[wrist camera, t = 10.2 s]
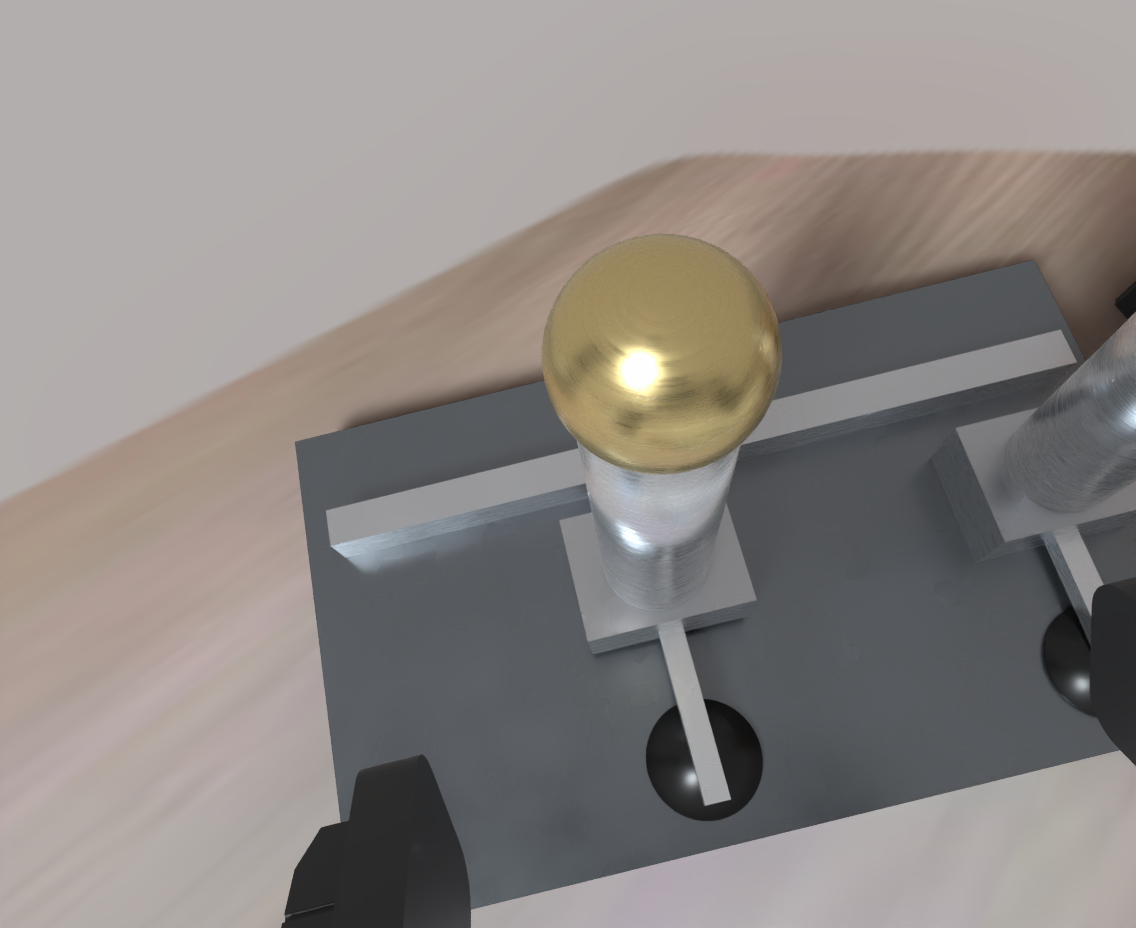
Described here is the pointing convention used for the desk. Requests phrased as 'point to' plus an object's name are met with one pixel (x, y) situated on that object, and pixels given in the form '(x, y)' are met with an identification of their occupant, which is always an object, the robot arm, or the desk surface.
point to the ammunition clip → (1127, 301)
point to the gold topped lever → (661, 447)
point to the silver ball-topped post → (1052, 471)
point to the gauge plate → (719, 652)
